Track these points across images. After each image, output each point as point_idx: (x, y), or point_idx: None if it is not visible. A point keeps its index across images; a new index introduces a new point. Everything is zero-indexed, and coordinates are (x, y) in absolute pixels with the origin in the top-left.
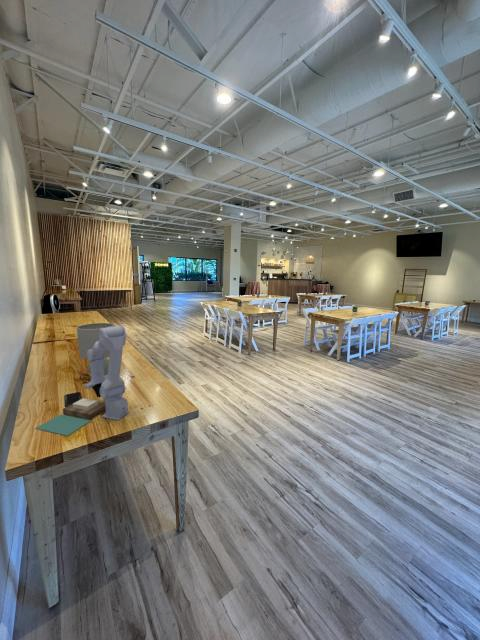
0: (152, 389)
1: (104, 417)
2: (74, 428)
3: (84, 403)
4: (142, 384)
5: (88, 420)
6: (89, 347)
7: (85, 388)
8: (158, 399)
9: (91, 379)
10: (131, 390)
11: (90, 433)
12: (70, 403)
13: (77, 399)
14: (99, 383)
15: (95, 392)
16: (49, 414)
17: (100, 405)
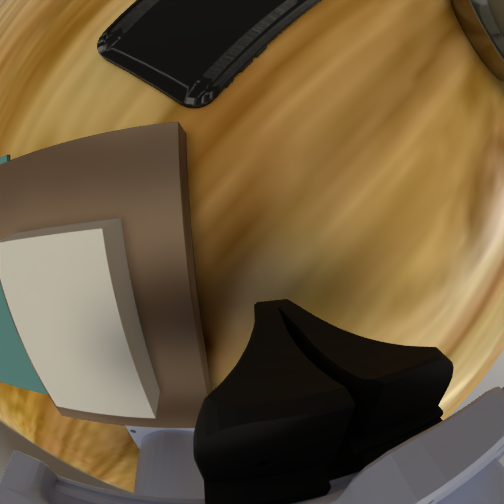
0: (453, 381)
1: (131, 433)
2: (7, 372)
3: (53, 353)
4: (500, 299)
5: None
6: None
7: (17, 460)
8: None
9: (431, 493)
10: (459, 310)
11: (48, 433)
12: (144, 38)
13: (233, 24)
14: (347, 475)
15: (253, 334)
16: (6, 80)
17: (161, 413)
